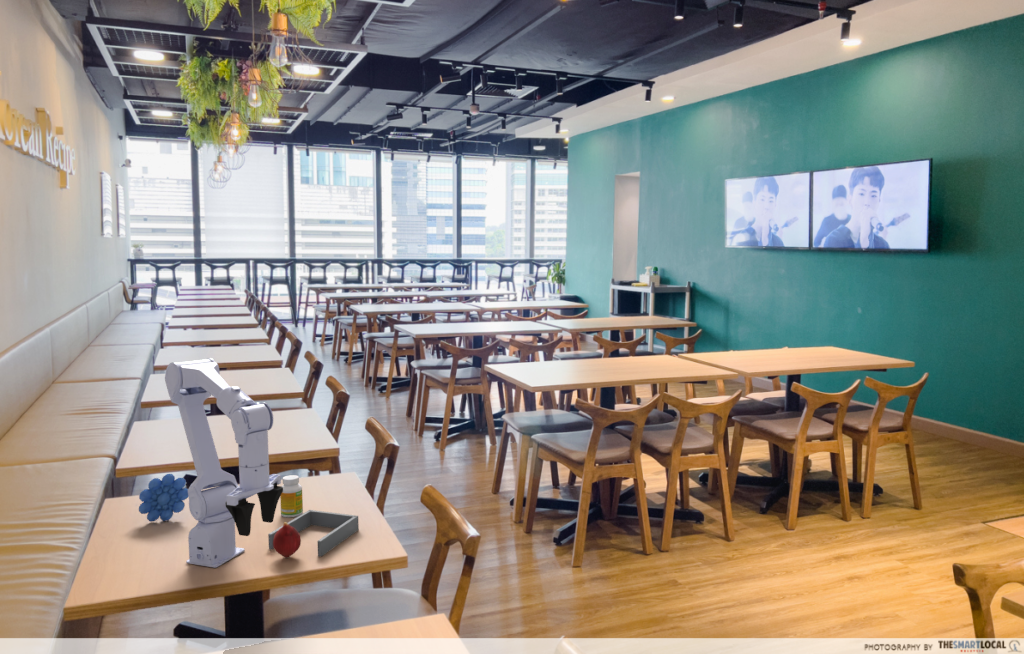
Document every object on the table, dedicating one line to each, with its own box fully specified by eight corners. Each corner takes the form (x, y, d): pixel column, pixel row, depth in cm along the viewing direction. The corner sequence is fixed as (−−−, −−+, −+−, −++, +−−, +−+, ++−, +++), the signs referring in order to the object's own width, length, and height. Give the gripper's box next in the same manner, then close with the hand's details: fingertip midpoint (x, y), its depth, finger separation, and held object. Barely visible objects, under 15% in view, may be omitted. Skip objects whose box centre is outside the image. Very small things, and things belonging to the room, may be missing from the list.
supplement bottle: (299, 518, 179) (297, 480, 178) (277, 517, 179) (276, 480, 178) (305, 510, 184) (304, 474, 183) (285, 510, 184) (283, 474, 183)
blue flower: (191, 512, 183) (189, 467, 182) (190, 521, 177) (188, 474, 176) (141, 518, 179) (139, 472, 178) (138, 527, 173) (135, 479, 171)
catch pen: (321, 556, 156) (320, 541, 155) (268, 548, 160) (268, 534, 160) (358, 529, 171) (358, 515, 171) (310, 523, 175) (309, 509, 175)
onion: (305, 552, 158) (304, 518, 157) (295, 563, 152) (293, 527, 151) (280, 551, 158) (279, 517, 158) (269, 562, 153) (267, 526, 152)
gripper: (246, 475, 135) (249, 544, 137) (292, 455, 149) (294, 517, 150) (216, 472, 138) (219, 539, 139) (264, 452, 151) (266, 514, 153)
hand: (256, 528), depth 145 cm, fingers open, 7 cm apart
